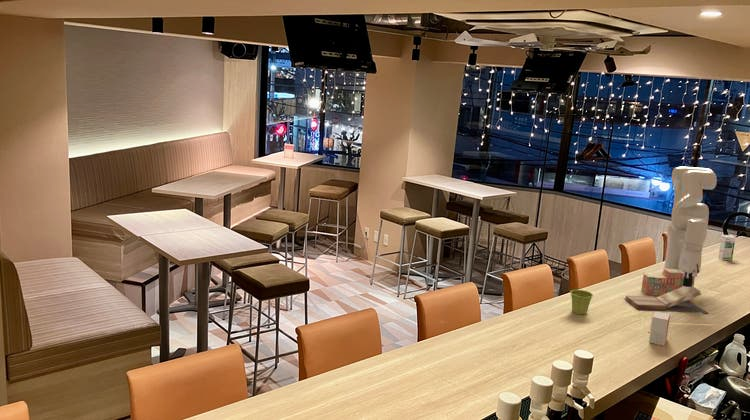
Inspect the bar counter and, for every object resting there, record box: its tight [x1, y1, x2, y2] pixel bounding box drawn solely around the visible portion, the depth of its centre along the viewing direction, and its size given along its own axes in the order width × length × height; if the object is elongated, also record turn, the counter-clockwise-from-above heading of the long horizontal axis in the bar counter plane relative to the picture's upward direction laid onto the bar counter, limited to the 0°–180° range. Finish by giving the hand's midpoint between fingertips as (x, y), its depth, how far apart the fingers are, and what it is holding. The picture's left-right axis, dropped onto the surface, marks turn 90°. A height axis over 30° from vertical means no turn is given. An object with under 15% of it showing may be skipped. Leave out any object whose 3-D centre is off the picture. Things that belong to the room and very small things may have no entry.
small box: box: [648, 311, 671, 347], centre depth 227 cm, size 8×6×10 cm
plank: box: [655, 286, 702, 308], centre depth 267 cm, size 16×9×2 cm, turn 92°
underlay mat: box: [623, 297, 709, 315], centre depth 268 cm, size 16×31×1 cm, turn 91°
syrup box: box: [718, 234, 736, 261], centre depth 355 cm, size 6×6×14 cm
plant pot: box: [569, 289, 594, 315], centre depth 255 cm, size 9×9×9 cm
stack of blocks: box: [640, 268, 696, 296], centre depth 284 cm, size 21×6×12 cm, turn 85°
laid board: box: [624, 295, 667, 310], centre depth 267 cm, size 12×13×2 cm
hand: (687, 286), depth 266 cm, fingers closed
